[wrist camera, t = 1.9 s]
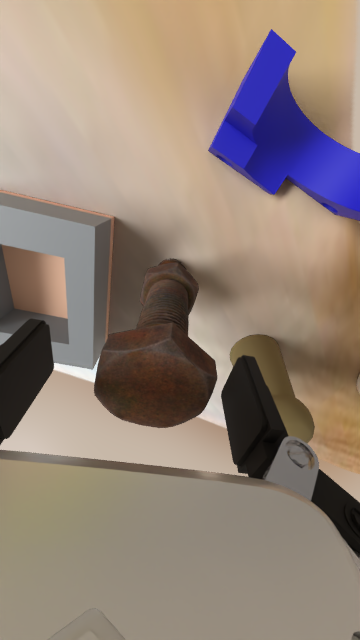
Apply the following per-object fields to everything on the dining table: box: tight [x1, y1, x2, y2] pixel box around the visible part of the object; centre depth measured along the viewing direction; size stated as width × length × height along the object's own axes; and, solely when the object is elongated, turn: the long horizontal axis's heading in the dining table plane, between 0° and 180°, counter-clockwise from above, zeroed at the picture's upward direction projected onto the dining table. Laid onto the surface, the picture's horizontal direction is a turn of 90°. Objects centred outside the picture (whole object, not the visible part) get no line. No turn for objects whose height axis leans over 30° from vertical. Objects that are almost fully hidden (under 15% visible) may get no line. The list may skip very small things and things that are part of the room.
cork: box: [230, 334, 315, 443], centre depth 23 cm, size 6×6×11 cm
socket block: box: [0, 190, 115, 369], centre depth 21 cm, size 12×14×5 cm
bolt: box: [94, 259, 217, 428], centre depth 16 cm, size 6×5×15 cm
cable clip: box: [208, 29, 360, 221], centre depth 15 cm, size 12×4×6 cm, turn 61°
